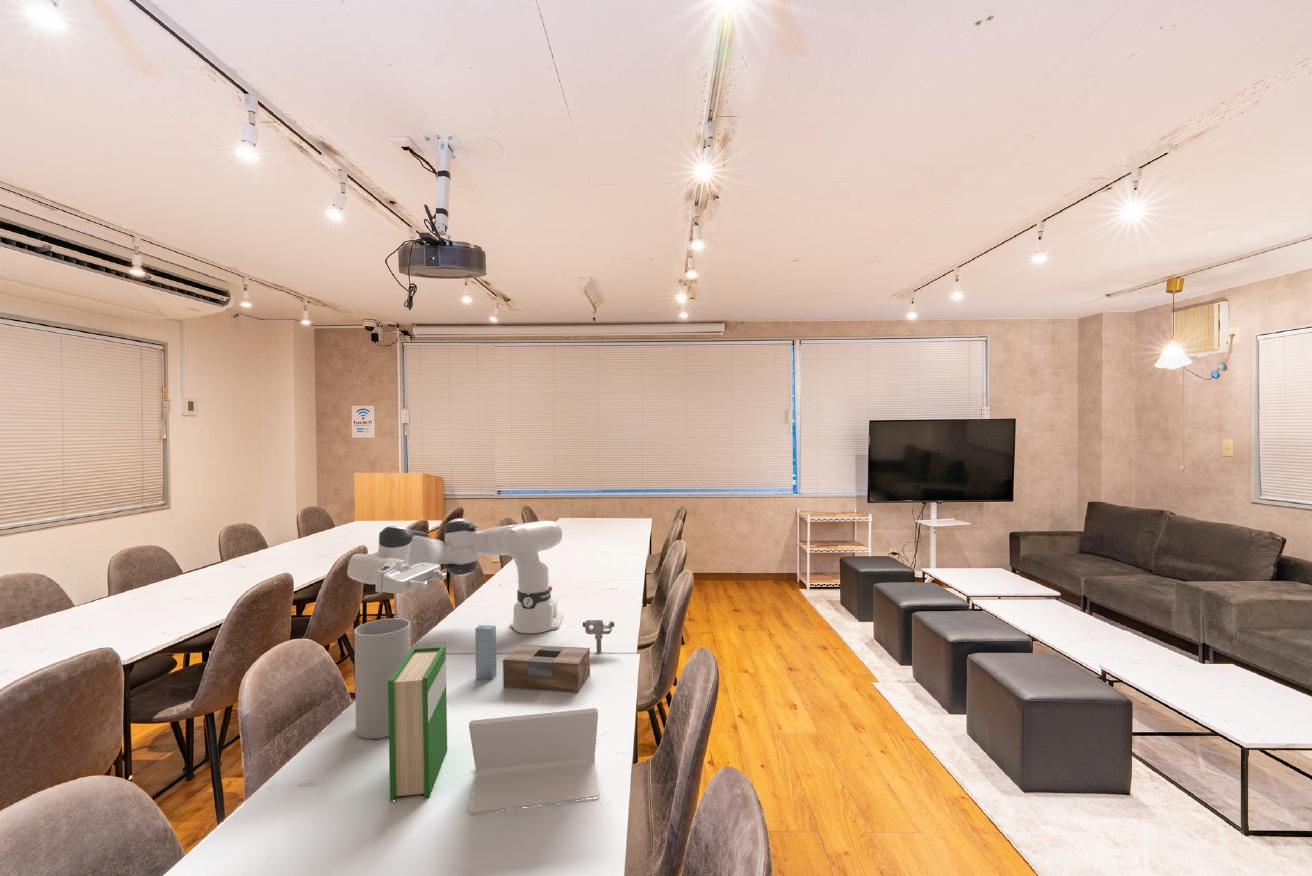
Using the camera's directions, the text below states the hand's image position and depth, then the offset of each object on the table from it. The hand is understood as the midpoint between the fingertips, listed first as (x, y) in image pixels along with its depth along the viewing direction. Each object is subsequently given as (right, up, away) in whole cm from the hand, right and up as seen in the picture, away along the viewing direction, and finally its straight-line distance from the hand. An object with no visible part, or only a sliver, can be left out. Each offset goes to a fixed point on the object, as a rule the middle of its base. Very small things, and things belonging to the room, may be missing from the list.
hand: (435, 581), depth 175 cm
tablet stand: (+41, -29, -54) cm, 73 cm away
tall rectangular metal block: (+16, -28, -2) cm, 32 cm away
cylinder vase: (-1, -29, -31) cm, 42 cm away
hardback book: (+16, -29, -51) cm, 61 cm away
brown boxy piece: (+35, -28, -5) cm, 45 cm away
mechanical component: (+47, -28, +17) cm, 57 cm away
